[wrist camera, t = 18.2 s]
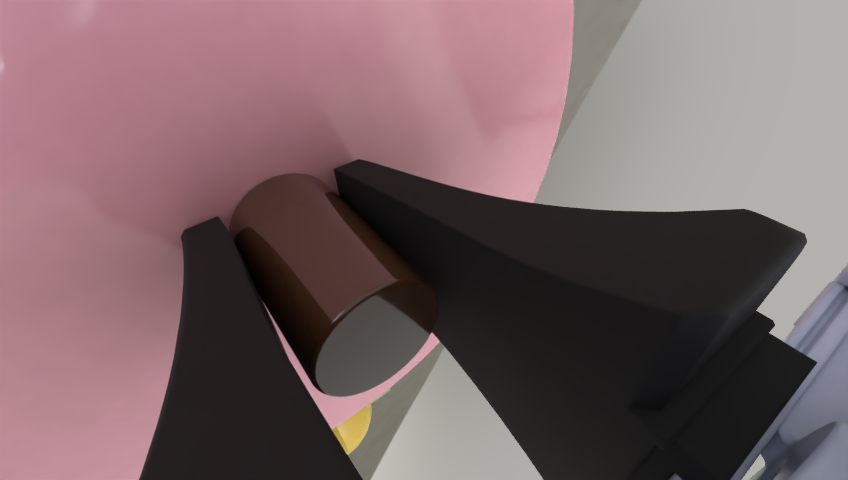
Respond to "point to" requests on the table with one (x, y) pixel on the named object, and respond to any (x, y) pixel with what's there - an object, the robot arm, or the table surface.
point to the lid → (237, 189)
